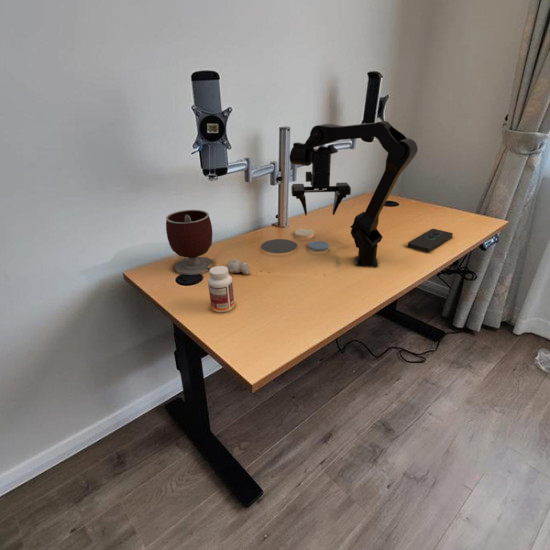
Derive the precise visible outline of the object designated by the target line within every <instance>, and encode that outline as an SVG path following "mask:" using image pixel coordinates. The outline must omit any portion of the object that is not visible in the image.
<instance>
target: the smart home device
mask: <svg viewBox="0 0 550 550" xmlns="http://www.w3.org/2000/svg"><path fill="white" fill-rule="evenodd" d="M453 235H454V234H453V232H450V231H445V230H441V229H437V228H431V229H429V230H427V231H425V232H424V233H422V234H420V235H418V236H416V237H415V238H413V239H412V240H410V241H408V242H407V248H408V249H412V250H416V251H419V252H423V253H427V254H428V253H429V254H430V253H431V252H433V251H434V250H436V249H437V248H439V247H440V246H442V245H443V244H445V243H446V242H448V241H450V240H452V238H453Z"/></svg>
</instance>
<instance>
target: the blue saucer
mask: <svg viewBox="0 0 550 550" xmlns="http://www.w3.org/2000/svg"><path fill="white" fill-rule="evenodd" d="M329 249H330V244H329V243H328V242H327V241H324V240H323V241H322V240H315V241H310V242H309V243H308V250H310V251H312V252H316V253H318V252H322V253H323V252H326V251H329Z"/></svg>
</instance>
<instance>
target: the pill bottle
mask: <svg viewBox="0 0 550 550" xmlns="http://www.w3.org/2000/svg"><path fill="white" fill-rule="evenodd" d="M210 268H211V269H210V270H209V278H208V279H207V285H208V292H209V300H210V307H211V309H212V311H214V312H217V313H227V312H229V311H231V310H232V309H233V308H234V307H235V295H234V294H235V293H234V285H233V278H232V276H231V274H229V270H228V268H227V266H225V265H216V266H212V267H210Z"/></svg>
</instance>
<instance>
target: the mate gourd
mask: <svg viewBox="0 0 550 550" xmlns="http://www.w3.org/2000/svg"><path fill="white" fill-rule="evenodd" d="M165 232H166V237H167V241H168V244H169V247H170V249H171V250H172V251H173V252H174V253H175V254H176V255H177V256H179V257H182V258H184V259H182V260H181V259H180V261H178V262H177V263H175V266H174V268H175V271H176V272H177V273H178V274H181V275H184V276H196V275H201V274H205V273H207V272H210V269H211V268H212V267H209V266H210V265H211V263H212V262H213V260H212V259H211V258H209V257H205V256H203V255H205V254H207V253H208V251H209V250H210V248H211V246H212V244H213V225H212V222H211V218H210V214H209V212H208V211H205V210H201V209H184V210H178V211H174V212H172V213H169V214H168V215H167V216H166V217H165Z"/></svg>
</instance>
